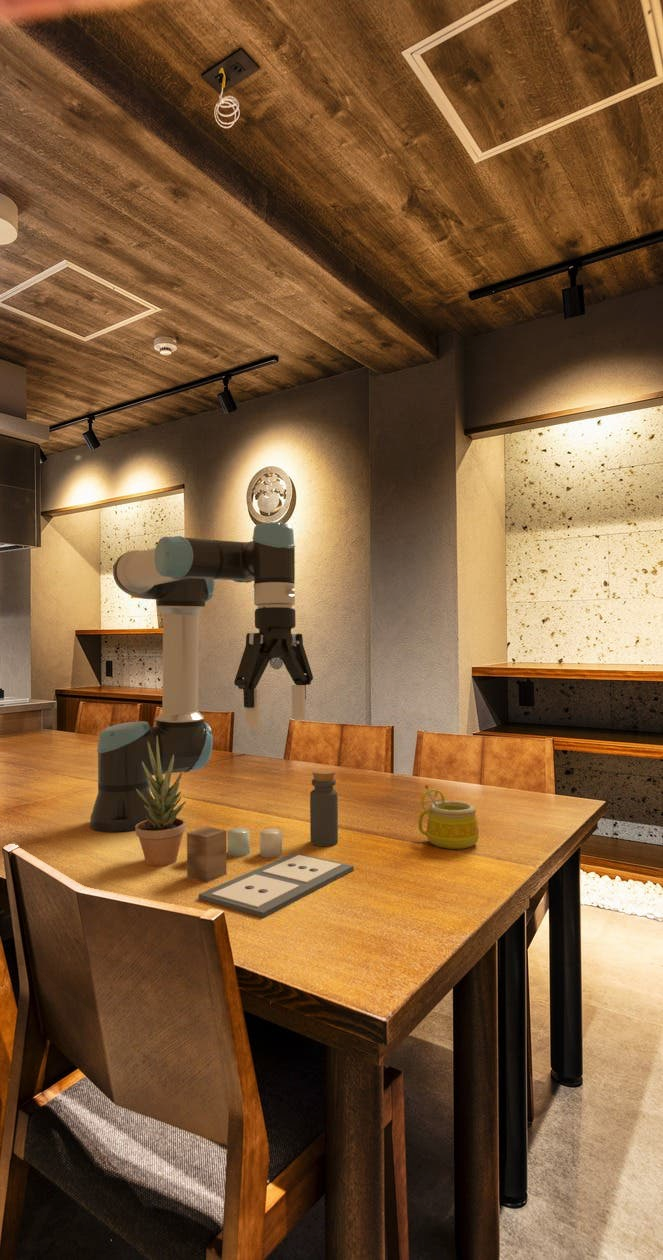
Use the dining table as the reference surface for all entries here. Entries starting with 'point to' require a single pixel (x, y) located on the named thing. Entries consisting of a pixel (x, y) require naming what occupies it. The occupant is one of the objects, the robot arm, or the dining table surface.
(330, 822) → the bottle
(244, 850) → the grey-green upright cylinder
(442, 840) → the mug
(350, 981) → the dining table surface
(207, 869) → the block
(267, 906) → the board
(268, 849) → the short white cylinder
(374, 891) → the dining table surface
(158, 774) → the potted plant
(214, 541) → the robot arm
